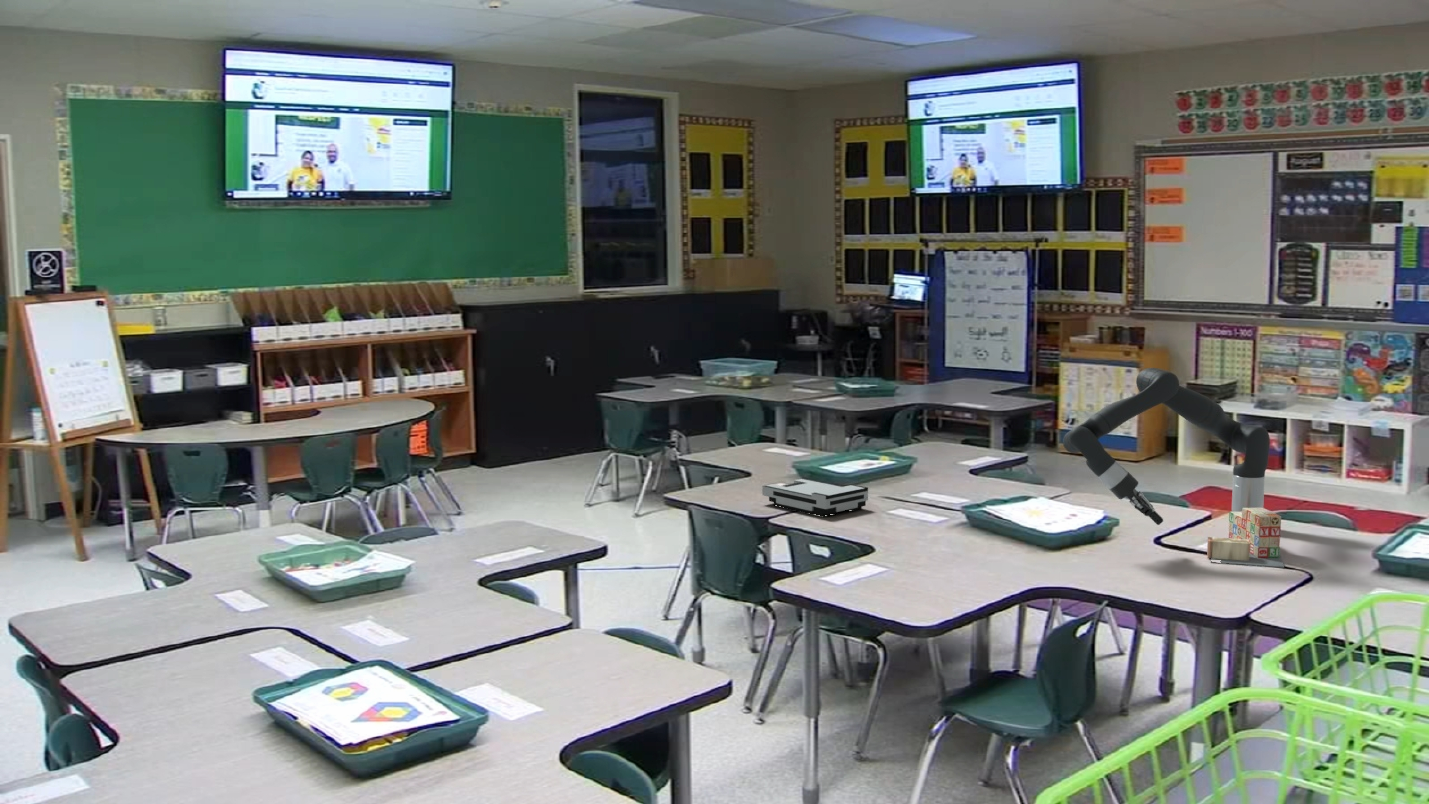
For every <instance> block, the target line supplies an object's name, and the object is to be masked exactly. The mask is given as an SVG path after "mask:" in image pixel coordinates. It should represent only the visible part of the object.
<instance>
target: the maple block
mask: <svg viewBox="0 0 1429 804" xmlns="http://www.w3.org/2000/svg"><path fill="white" fill-rule="evenodd" d="M1206 553H1207V554H1206V555H1207V559H1210V558H1217V559H1231V560H1246V561H1249V553H1250V542H1249V540H1247V539H1231V538H1229V537H1228V538H1227V537H1213V536H1207V550H1206Z"/></svg>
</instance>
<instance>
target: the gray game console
mask: <svg viewBox="0 0 1429 804" xmlns="http://www.w3.org/2000/svg"><path fill="white" fill-rule="evenodd" d="M761 490H762V493H761V494H762V496H764V497H768V501H769V502H771V503H773V506H774V505H777V506H781V507H784V508H788V509H791V510H790V511H792V510H796V511H795V512H797V511H801V512H805V513H804V514H806V513H810V514H816V515H820V516H825V515H830V514H835V515H836V513H838V512H843V511H845V510H855V511H858V509H859V510H862V509H863V507H866V504H867V503H866V502H867V501H869V487H867V486H863V485H857V484H851V485H846V486H845V485H841V484H840V485H839V484H835V483H829V482H824V481H819V480H815V479H814V480H813V479H809V478H806V477H805V478H804V477H803V478H798V479H794V480H793V483H788V484H783V485H779V484H775V483H772V484H767V485H763V486H762V489H761ZM784 508H783V509H784ZM788 509H787V510H788ZM801 512H800V513H801ZM810 514H809V515H810Z"/></svg>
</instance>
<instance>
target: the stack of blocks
mask: <svg viewBox="0 0 1429 804" xmlns="http://www.w3.org/2000/svg"><path fill="white" fill-rule="evenodd" d="M1228 522H1229V523H1228V524H1229V525H1228V532H1229V533H1228V538H1231V539H1247V540H1249V542H1250V552H1249V553H1251V554H1253V555H1255V556H1256V557H1279V555H1280V542H1281V541H1280V540H1281V529H1282V527H1281V525H1282V516H1281V515H1279V514H1277V513H1276V512H1275V511H1274V512H1273V511H1271V510H1269V509H1266V508H1265V507H1263V508H1242V512H1232V511H1229V514H1228Z"/></svg>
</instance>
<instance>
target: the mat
mask: <svg viewBox="0 0 1429 804" xmlns="http://www.w3.org/2000/svg"><path fill="white" fill-rule="evenodd" d="M1211 560H1221V561H1220V562H1221V563H1229V564H1228V565H1234V564H1247V565H1246V566H1248V565H1257V566H1256V567H1262V566H1265V567H1264V568H1266V567H1267V568H1277V569H1278V568H1279V569H1284V568H1285V566H1284V565H1285V564H1284V562H1283V559H1282V557H1281V554H1279V557H1256V556H1255V555H1253V554H1251V553H1250V552H1249V561H1246V560H1231V559H1217V558H1211V559H1210V563H1211V562H1212V561H1211Z"/></svg>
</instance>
